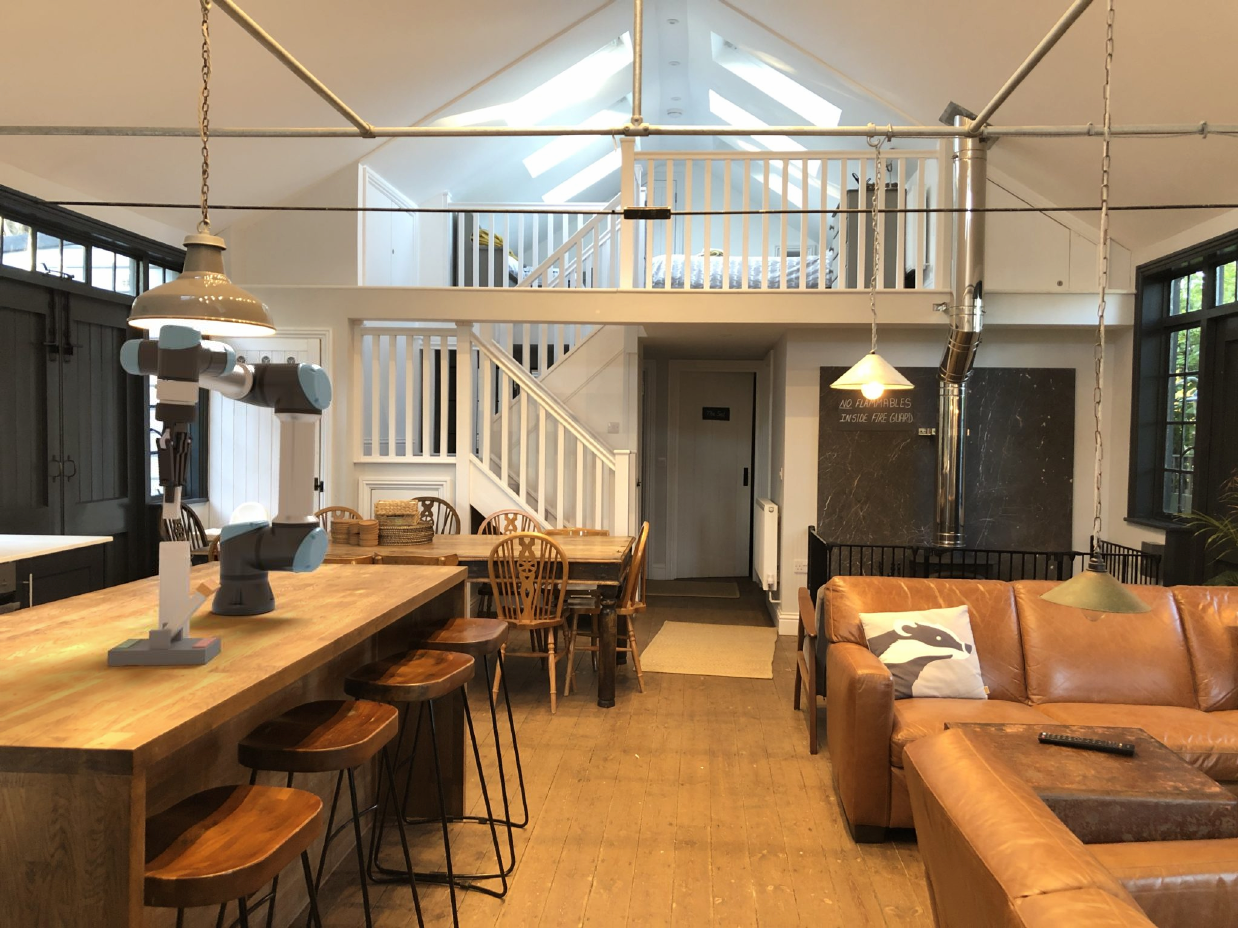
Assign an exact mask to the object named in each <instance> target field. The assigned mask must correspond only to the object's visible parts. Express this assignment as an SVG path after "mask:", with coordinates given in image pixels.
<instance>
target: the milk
mask: <svg viewBox="0 0 1238 928" xmlns="http://www.w3.org/2000/svg"><path fill="white" fill-rule="evenodd" d="M158 551H159V552H158V553H159V554H158V559H159V561H158V563H159V564H158V565H159V566H158V625H157V627H158V629H157V630H162V628H163V623H164V622H170V621H171V620H172V618H173V617H174V616H175V615H176V614H177V613H178V612H179V611H180V609H181V608H182V607H183V606H184V605H185V604H186V603H187V602H188V600H189V599H190V598H191V590H190V589H191V542H190V541H189V540H185V541H184V540H183V541H182V540H180V541H176V540H174V541H160V542H159V550H158ZM190 619H191V618H190ZM190 619H189V620H188V621H187V623H186V624H185V625H184V626H183V638H190Z"/></svg>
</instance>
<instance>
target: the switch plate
mask: <svg viewBox="0 0 1238 928" xmlns="http://www.w3.org/2000/svg"><path fill="white" fill-rule="evenodd" d="M168 623H169V622H164V623H163V628H162V630H158V629H151V630H149V631H148V638H128V639H126V640H125V641H123V642H121V643H119V644H117V645H115V646H114V647H112V648H111V649H108V650H107V667H124V665H125V667H126V665H129V666H130V665H140V666H178V665H179V666H185V665H186V666H187V665H188V666H191V665H206V664H208V663H209V662H210V661H212V659H214V658H215V657H216V656H218V655H219V654H220V653H221V652H222V638H221V637H189V638H183V627H182V628H181V629H180V630H179V632H178V633H177V635H176V636H175V637H174V638H172V639H171V630H163V629H164V627H165V626H166V625H167V624H168ZM129 666H128V667H129Z"/></svg>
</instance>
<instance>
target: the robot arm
mask: <svg viewBox="0 0 1238 928" xmlns="http://www.w3.org/2000/svg"><path fill="white" fill-rule="evenodd" d="M119 359H120V364H121V366H122V368H123V370H125V371H126V372H127V373H128V374H131V375H139V376H145V375H146V376H154V377H156V384H155V385H154V389H155V390H156V393H155V394H156V396H155V397H156V400H159V402H156V403H155V405H154V406H155V408H154V409H155V410H154V411H155V412H154V420H156V422H162V423H163V425H162V430H161V435H160V437H156V438H155V446H156V449H157V450H156V451H157V464H158V466H157V468H158V486H159V487H163V502H162V504H163V505H162V519H163V520H164V519H165V520H166V519H167V520H179V519H181V518H180V517H181V515H180V514H181V499H182V487H187V484H188V483H187V476H188V469H189V463H190V457H191V449H192V445H193V442H194V437H193V435H190V432H189V424H195V423H197V422H198V408H199V407H198V406H197V405H196V404H195V403H198V402H199V394H200V393H199V392H200V391H199V389H200V388H201V389H202V388H203V389H206V390H210V391H214V392H217V393H218V392H219V393H220V394H221V396H223V397H224V398H227V399H229V400H234V401H237V402H241V403H243V404H244V403H245V404H246V405H252V406H254V407H260V408H267V409H274V412H273V415H274V416H275V417H276V418H277V419H278V420H279V422H280V423H279V459H278V460H279V463H278V465H279V466H278V467H279V469H278V503H277V508H278V509H277V511H278V512H277V514H276V515H275V517H274V518H272V519H271V525H270V521H269V520H264V519H263V520H253V521H247V522H246V521H245V522H244V521H243V522H238V523H231V524H226V525H224V526H223V527H222V528H221V529H220V534H219V535H220V537H219V541H218V542H219V582H218V584H220V585H221V587H220V588H219V589H218V590H217V591H216V592H215V593H214V596H213V599H212V601H211V613H213V614H216V615H221V616H247V615H248V616H249V615H257V614H262V613H267V612H268V613H269V612H272V611H274V610H275V609H276V599H275V596H274V593H273V589H272V586H271V584H270V582H269V580H270V579H269V572H281V573H283V572H284V573H285V572H286V573H295V574H299V573H312V572H314V571H316V570H318V569H319V568H320V566H321V564H323V561H324V560H325V557H326V556H327V555H326V554H327V551H328V547H329V546H328V545H329V537H328V532H327V531H326V530H325V528H322V527H320V520H319V518H318V517H317V516H316V515H315V513H314V507H315V506H314V505H315V503H314V502H315V500H314V499H315V467H316V466H315V460H316V458H315V457H316V429H317V428H316V427H317V425H316V423H317V421H319V420H320V419H321V418H322V417H323V411H324V410H325V409H328V408H329V407H330V405H331V401H332V398H333V397H332V395H333V394H332V385H331V380H330V378H329V376H328V374H327V373H326V371H325V369H324V368H323V367H322V366H320V365H319V364H313V363H305V362H303V363H302V362H301V363H299V362H298V363H297V362H295V363H289V362H286V363H285V362H282V363H281V362H280V363H279V362H278V363H277V362H276V363H274V362H273V363H272V362H262V363H261V362H259V363H243V362H240V361H237V355H236V352H235V351H234V349H233V348H232V347H231V346H230V345H229V344H227V343H224V342H220V341H219V340H208V339H203V338H202V331H201V330H200V329H199V328H198V327H193V326H186V325H177V324H176V325H175V324H164V325H162V326H161V327H160V329H159V336H158V339H144V338H140V339H139V338H138V339H130V340H127V341H125V342H124V344H122V346H121V349H120V355H119Z"/></svg>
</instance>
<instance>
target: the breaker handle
mask: <svg viewBox="0 0 1238 928" xmlns="http://www.w3.org/2000/svg"><path fill="white" fill-rule="evenodd" d="M220 587H221V585H220V584H219V582H217V581H216V580H215V579H213V578H211V577H210V578H208V579H205V580H204V581H202V582H201V583H200V584H199V585H198V586H197V587H196V589H195V590H196V592H194V593H193V595H191V596H190V599H189V600H188V602H187V603H186V604H185V605H184V606H183V607H182V608H181V609H180V611H179V612H178V613H177V614H176V615H175V616H174V617H173V618H172V620H171V621H170V622H169V623H168V624H167V625H166V626H165V627H164V629H163V630H171V639H172V638H174V637H175V636H176V635H177V633H178V632H179V630H180V629H181V628H182V627H183V626H184V625H185V624H186V623H187V621H188V620H189V619H191V618H192V617H193V616H194V615H195V613H197V611H198V610H199V609H200V608H201V607H202V605H203V604H205V602H207V600H208V599H209V598H210V596H212V595H213V594H215V593H216V591H217V590H218V589H219V588H220Z"/></svg>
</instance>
